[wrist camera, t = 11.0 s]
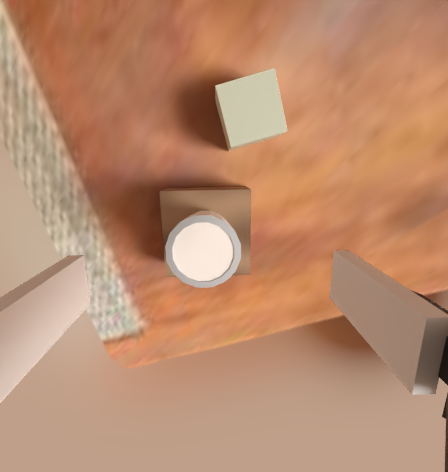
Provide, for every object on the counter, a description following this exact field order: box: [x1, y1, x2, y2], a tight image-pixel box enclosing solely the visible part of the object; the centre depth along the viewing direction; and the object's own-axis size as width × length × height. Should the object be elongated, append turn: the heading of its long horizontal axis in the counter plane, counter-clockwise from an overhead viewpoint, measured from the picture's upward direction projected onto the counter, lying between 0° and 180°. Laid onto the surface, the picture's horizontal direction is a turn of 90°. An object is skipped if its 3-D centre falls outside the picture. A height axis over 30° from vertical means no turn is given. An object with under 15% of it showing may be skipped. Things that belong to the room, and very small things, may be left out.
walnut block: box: [159, 186, 251, 277], centre depth 34 cm, size 10×10×5 cm
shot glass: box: [165, 210, 241, 288], centre depth 28 cm, size 7×7×7 cm
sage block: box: [215, 68, 288, 151], centre depth 30 cm, size 6×6×6 cm
